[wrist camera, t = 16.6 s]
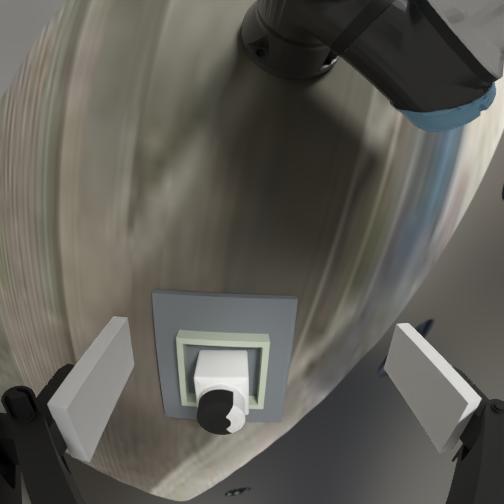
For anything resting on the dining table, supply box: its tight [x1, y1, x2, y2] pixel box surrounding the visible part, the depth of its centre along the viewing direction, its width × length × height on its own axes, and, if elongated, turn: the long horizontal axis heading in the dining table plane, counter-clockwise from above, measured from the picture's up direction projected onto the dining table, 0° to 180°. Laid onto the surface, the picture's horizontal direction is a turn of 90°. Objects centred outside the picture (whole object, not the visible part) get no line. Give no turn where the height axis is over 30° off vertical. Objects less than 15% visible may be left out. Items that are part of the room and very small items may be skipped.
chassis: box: [152, 289, 298, 422], centre depth 48 cm, size 26×22×4 cm
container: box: [194, 350, 249, 435], centre depth 42 cm, size 8×8×13 cm
